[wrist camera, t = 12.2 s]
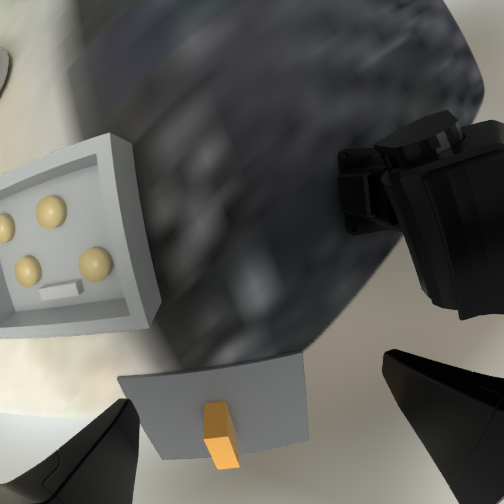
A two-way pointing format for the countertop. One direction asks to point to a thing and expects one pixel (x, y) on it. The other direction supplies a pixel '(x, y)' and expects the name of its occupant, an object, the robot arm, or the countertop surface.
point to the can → (3, 66)
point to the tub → (75, 245)
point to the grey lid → (223, 408)
